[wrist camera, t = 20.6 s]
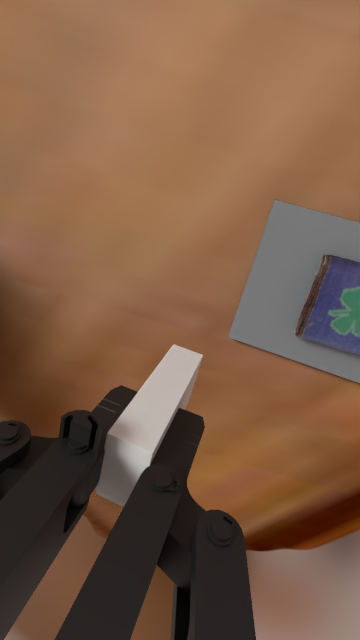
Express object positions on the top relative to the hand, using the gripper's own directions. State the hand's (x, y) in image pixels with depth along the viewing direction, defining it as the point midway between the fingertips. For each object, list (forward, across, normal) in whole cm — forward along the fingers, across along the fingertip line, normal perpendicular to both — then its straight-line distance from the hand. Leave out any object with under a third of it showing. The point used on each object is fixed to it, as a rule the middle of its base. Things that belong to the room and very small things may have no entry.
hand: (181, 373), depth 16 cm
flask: (+22, +7, 0) cm, 23 cm away
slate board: (+24, +10, 0) cm, 26 cm away
